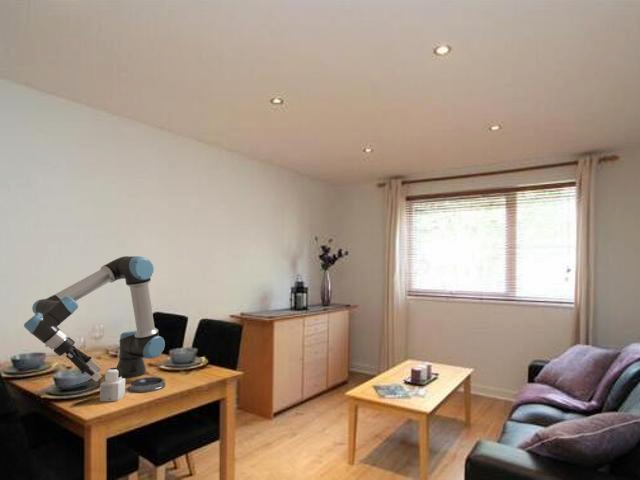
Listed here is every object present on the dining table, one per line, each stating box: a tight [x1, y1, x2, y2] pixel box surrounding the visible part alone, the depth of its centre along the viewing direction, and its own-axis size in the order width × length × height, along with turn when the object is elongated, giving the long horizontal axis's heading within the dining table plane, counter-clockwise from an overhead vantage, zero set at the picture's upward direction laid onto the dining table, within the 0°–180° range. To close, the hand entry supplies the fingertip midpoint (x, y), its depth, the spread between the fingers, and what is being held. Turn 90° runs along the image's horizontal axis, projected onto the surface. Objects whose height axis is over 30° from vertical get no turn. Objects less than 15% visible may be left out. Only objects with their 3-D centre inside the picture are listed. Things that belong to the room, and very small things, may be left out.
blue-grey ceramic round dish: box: [129, 376, 166, 393], centre depth 191 cm, size 16×16×3 cm
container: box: [99, 367, 126, 402], centre depth 175 cm, size 8×8×13 cm
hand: (99, 375), depth 171 cm, fingers open, 13 cm apart
